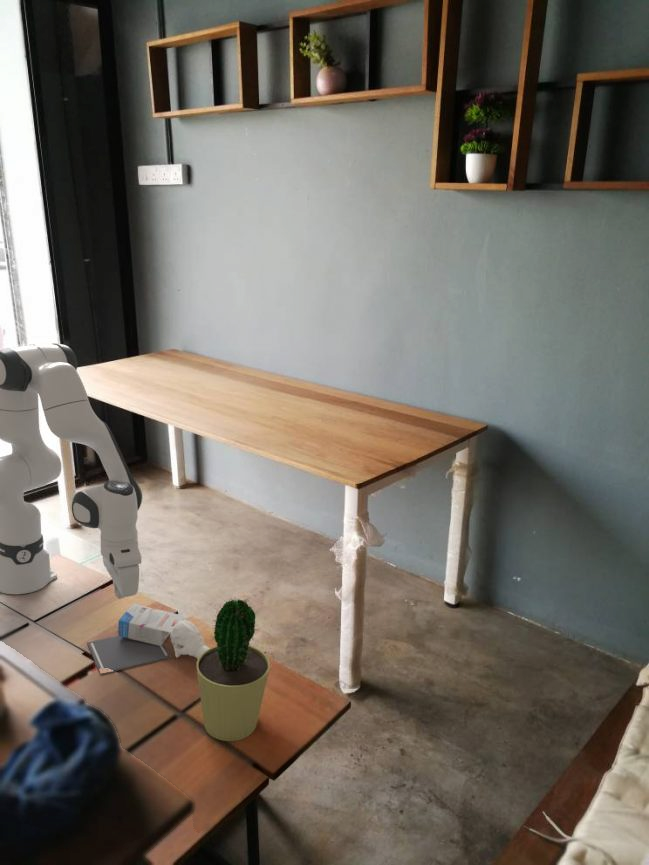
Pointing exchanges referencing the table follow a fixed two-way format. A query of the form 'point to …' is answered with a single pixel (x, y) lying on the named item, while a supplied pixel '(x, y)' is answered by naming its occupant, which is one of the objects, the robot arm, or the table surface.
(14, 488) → the robot arm
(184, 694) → the table surface
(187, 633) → the white irregular lumpy piece
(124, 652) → the mat
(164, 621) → the ink box
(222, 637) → the potted cactus
